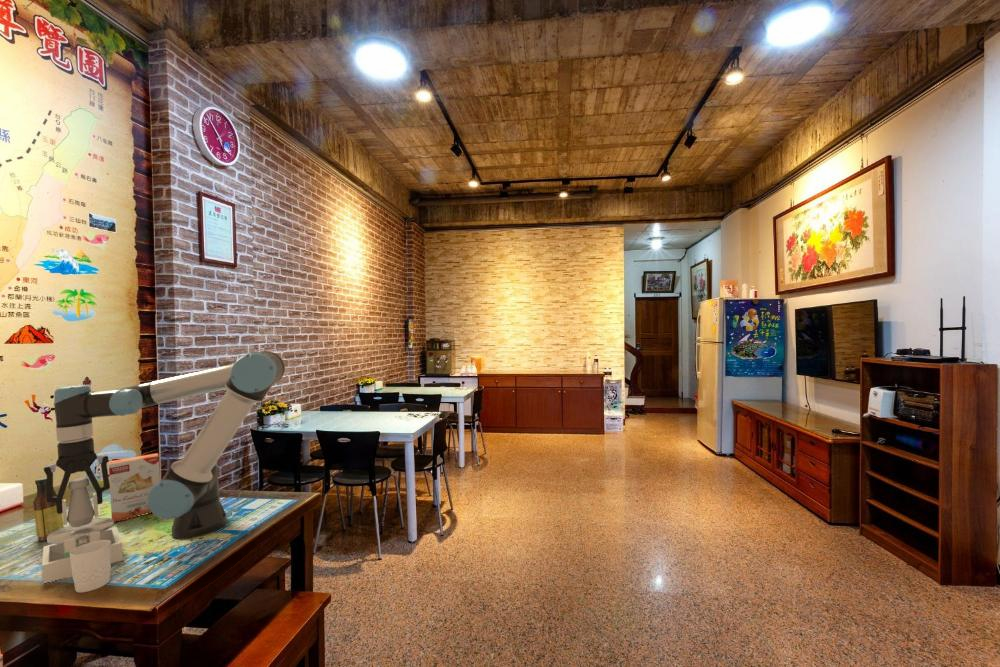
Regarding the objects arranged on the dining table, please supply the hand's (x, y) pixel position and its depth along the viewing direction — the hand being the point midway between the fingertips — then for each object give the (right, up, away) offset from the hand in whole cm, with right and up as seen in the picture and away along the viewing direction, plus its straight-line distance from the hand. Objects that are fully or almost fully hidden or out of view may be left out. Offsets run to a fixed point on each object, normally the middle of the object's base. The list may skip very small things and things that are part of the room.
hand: (81, 519), depth 128 cm
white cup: (+15, -12, -13) cm, 23 cm away
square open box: (+1, -12, 0) cm, 12 cm away
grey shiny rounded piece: (+2, -9, -1) cm, 9 cm away
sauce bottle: (-27, -14, +18) cm, 35 cm away
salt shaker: (0, -2, 0) cm, 2 cm away
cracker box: (-11, -13, +33) cm, 37 cm away
